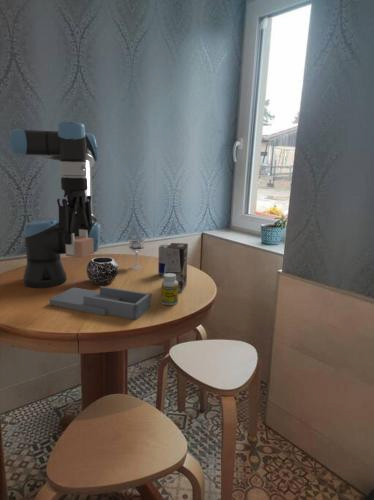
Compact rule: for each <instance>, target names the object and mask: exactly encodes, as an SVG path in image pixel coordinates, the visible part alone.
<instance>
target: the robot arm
mask: <svg viewBox="0 0 374 500" xmlns="http://www.w3.org/2000/svg"><path fill="white" fill-rule="evenodd" d="M57 129H58V130H37V129H35V130H34V129H21V128H20V129H12V130H10V132H9V145H10V149H11V152H12V153H13V154H14V155H17V156H18V155H19V156H38V157H40V158H44V159H49V160H51V161H59V173H60V175H61V176H62V177H61V178H60V188H61V190H62V191H64V192H63V193H64V194H63V197H62V198H57V200H56V202H57V207H58V218H55V217H54V218H50V217H49V218H43V219H42V218H41V219H37V220H33V221H29V222H27V223H26V224H25V225H24V242H25V253H26V266H25V270H24V274H23V277H22V279H23V282H22V283H23V285H24V284H25V285H24V286H26V287H30V288H50V287H55V286H58V285H61V284H64V283H65V282H67V279H68V278H67V272H66V270H65V269H64V266H63V264H62V261H61V255H64V254H65V255H66V254H70V255H75V237H77V236H78V237H87V238H93V245H94V253H96V252H98V250H99V248H100V242H101V241H100V239H101V229H102V228H101V227H102V226H101V225H102V223H101V222H100V221H98V219H97V217H96V216H95V215H94V214H93V185H92V183H93V182H92V168H93V167H94V166H95V163H96V162H99V161H98V160H99V152H98V144H97V140H96V137H95V135H94V134H93V133H89V132H86V127H85V124H84V123H83V122H79V121H60V122H58V124H57ZM65 244H66V247H65Z"/></svg>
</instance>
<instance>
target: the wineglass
mask: <svg viewBox="0 0 374 500" xmlns="http://www.w3.org/2000/svg"><path fill="white" fill-rule="evenodd" d="M144 242H145V239H141V238H132V239H131V238H130V239H128V248H129V250H130V251H131V252H133V253H134V254H135V265H134V266H131V267H130V268H131V269H132V270H140V269H141V270H142V269H143V266H140V265H138V254H139V253H140V252H142V251H143V250H145V243H144Z"/></svg>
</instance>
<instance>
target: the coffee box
mask: <svg viewBox="0 0 374 500" xmlns="http://www.w3.org/2000/svg"><path fill="white" fill-rule="evenodd" d="M168 245H169V246H168V247H166V273H173V274H176V281H177V282H178V293H183V291H184V290H185V288H186V286H187V282H188V249H189V248H188V247H189V244H188V243H185V242H181V243H180V242H177V243H176V242H171V243H170V244H168Z"/></svg>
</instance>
